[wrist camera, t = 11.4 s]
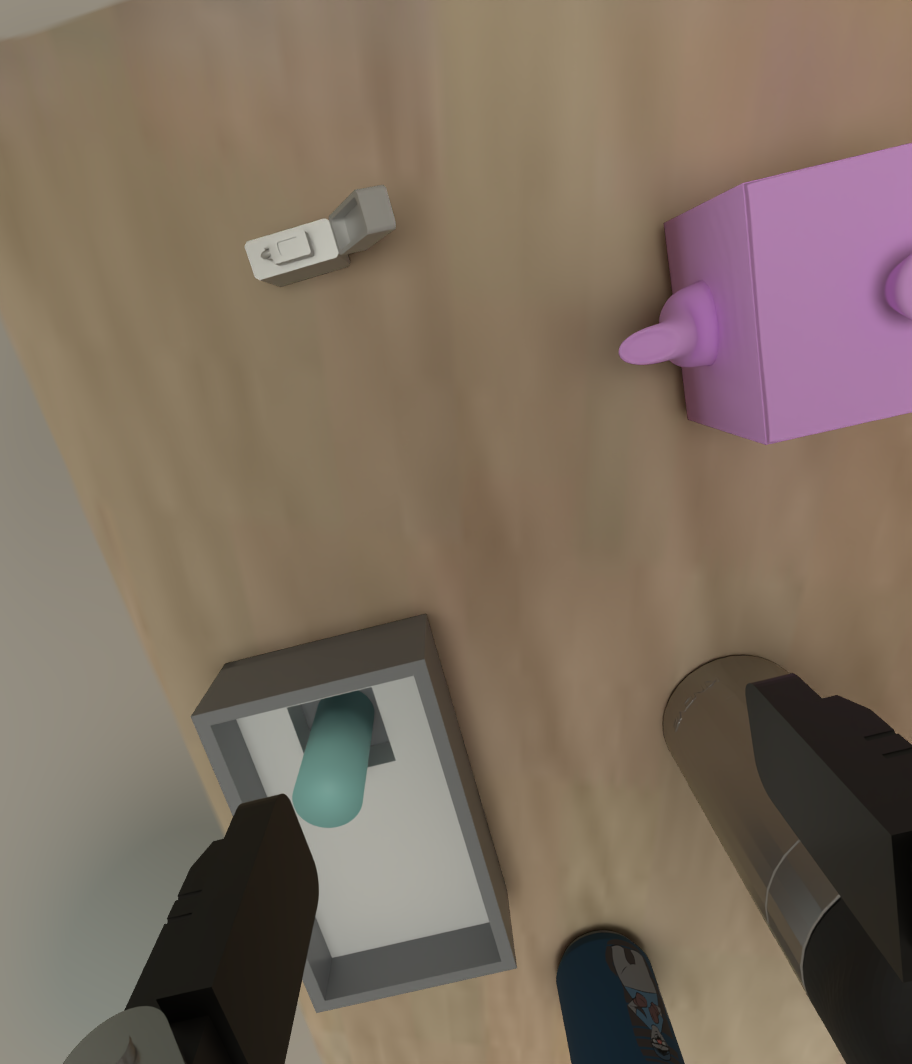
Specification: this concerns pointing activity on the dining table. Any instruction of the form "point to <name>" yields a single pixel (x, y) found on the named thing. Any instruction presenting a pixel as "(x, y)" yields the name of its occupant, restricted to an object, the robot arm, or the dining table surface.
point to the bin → (373, 812)
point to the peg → (335, 761)
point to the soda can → (613, 1004)
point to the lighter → (323, 240)
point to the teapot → (792, 300)
